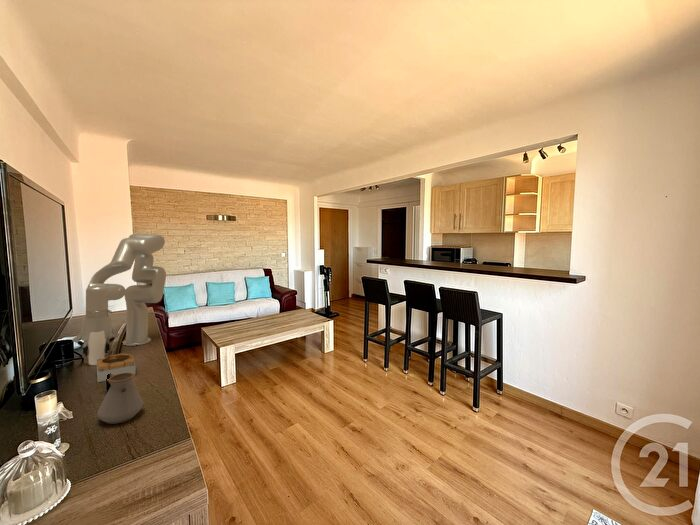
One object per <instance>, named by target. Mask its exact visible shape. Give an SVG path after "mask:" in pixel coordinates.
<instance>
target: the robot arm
mask: <svg viewBox="0 0 700 525" xmlns="http://www.w3.org/2000/svg"><path fill="white" fill-rule="evenodd" d="M165 242H166V241H165V238H164V237H163V235H161V234H157V233H155V234H153V233H140V232H139V233H132V234H130V235H129V236H128V237H125V238H123V239H121V240H120V242H119V244H118V246H117V248H116V249H115V252H114V255H113V256H112V259H111V261H110V262H109V263H108V264H106V265H104V266H103V267H101V268H100V269H98V271H96V272H95V273H94V274H93V275H92V277H91V279H90V280H89V283H88V285H87V288H86V289H85V317H83V318H82V323H81V329H80V330H81V332H80V333H78V335H76V336H75V337H73V338H72V342H74V343H76V344H77V345H79V346H81V347H82V348H83V349H82V354H83V355H85V357H88V347H87V344H88V340H89V336H90V333H91V332H101V331H104V333H105V338H106V349H105V354H108V352H109V351H111V350H110V348H111V346H110V345H111V343H112V342H113V341H114V340H115V339H116V338H118V337H119V335H120V333H119V332H117V330H114V329H112V320H111V319H112V318H111V315H110V314H113V310H110V309H109V301H119V300H121V299H122V298H124V299H125V301H124V302H125V305H126V306H125V307H126V322H125V324H126V326H125V327H126V328H125V329H126V330H125V333H126V334H125V339H124V340H123V341H122V343H123V344H122V345H123V346H125V345H126V346H125V347H133V346H136V345H137V346H141V345H145V344H149V343H150V342H151V341H152V339H151V337H148V334H149V333H148V332H149V309H148V307H147V304H158V303H160V302H161V301H162V299H163V295H164V291H165V286H166V278H167V272H166V269H165V268H164V267H162V266H155V265H154V261H155V258H154V256H153V254H154V253H156V252H159V251H161V250H162V249H163V248H164V247H165ZM132 267H133V268H132ZM131 269H132V274H131V279H132V281H133V282H135V283H137V284H134V285H133V284H132V285H129V286H128V287H126V288H125V286H124V285H122V284H119V283H118V284H117V283H105V282H106V281H107V280H108V279H109V278H111V277H113V276H116V275H119V274H121V273H124V272H128V271H130V270H131ZM145 284H147V285H145ZM148 284H151V285H148ZM112 334H113V335H112ZM80 338H81V340H79V339H80Z"/></svg>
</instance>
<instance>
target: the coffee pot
mask: <svg viewBox="0 0 700 525" xmlns="http://www.w3.org/2000/svg"><path fill="white" fill-rule="evenodd" d="M134 377H135V375H134V374H133V373H121V374H117V375H114V376H112V377H110V378H109V379H107V382H108V383H109V384H110V387H109V389H108V390H107V393H106V395H105V396H104V399H103V401H102V403H101V404H100V406H99V408H98V410H97V412H96V413H97V417H98V418H99V420H101V421H102V422H105V423H107V424H113V425H114V424H120V423H121V424H122V423H124V422H127V421H129V420H131V419H133V418H134V417H135V416H136V415H137V414H138V413H139V412H140V411H141V410H142V408H143V406H144V400H143V398H142V397H141V395H140V394H139V392H138V390H137V389H136V387H135V384H134V383H133V382H132V381H133V378H134Z"/></svg>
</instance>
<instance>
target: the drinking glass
mask: <svg viewBox="0 0 700 525" xmlns="http://www.w3.org/2000/svg"><path fill="white" fill-rule="evenodd" d="M87 347H88V355H87V357H88V365H89V366H97V359H101V358H104V357H106V353H105V349H106V338H105V333H104V331H101V332H91V333H90V336H89V340H88V344H87Z"/></svg>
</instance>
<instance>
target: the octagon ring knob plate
mask: <svg viewBox="0 0 700 525" xmlns="http://www.w3.org/2000/svg"><path fill="white" fill-rule="evenodd" d="M110 373H111V374H113V375H117V374H121V373H133V374H134V376H136V375H135V374H137V365H136V362H135V355H134V354H133V353H117V354H110V355H107V356H106V355H105V357H104V358H101V359H97V365H96V377H97V383H101V382H106V379H107V375H108V374H110Z"/></svg>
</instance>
